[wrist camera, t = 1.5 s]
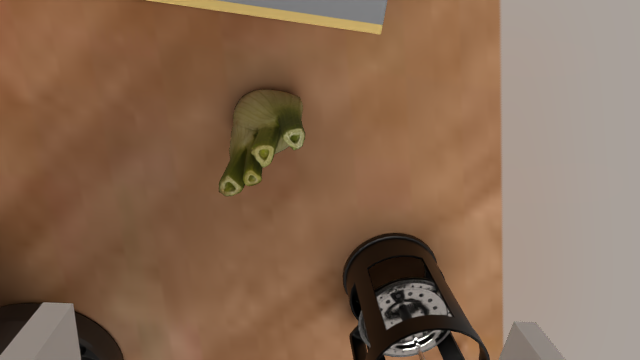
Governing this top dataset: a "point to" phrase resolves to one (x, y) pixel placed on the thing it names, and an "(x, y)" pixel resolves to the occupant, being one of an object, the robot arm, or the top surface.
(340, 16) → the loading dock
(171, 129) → the top surface
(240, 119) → the fennel bulb
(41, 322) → the robot arm
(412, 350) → the french press
